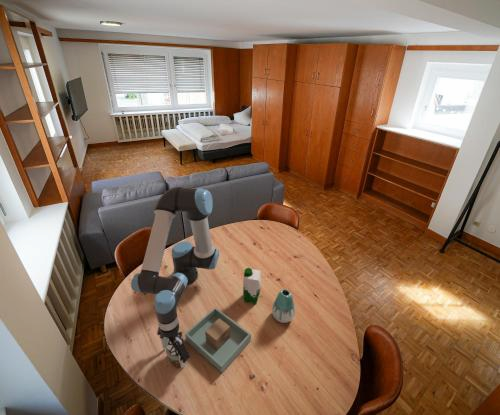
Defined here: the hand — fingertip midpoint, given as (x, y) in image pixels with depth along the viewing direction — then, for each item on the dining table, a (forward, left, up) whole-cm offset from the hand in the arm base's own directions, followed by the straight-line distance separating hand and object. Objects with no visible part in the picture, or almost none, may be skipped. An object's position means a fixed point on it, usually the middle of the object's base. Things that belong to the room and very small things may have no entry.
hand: (174, 355), depth 118 cm
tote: (+9, +18, -1) cm, 20 cm away
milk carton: (+5, +48, -2) cm, 48 cm away
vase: (+25, +49, -2) cm, 55 cm away
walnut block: (+9, +18, -1) cm, 20 cm away
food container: (0, 0, -2) cm, 2 cm away
